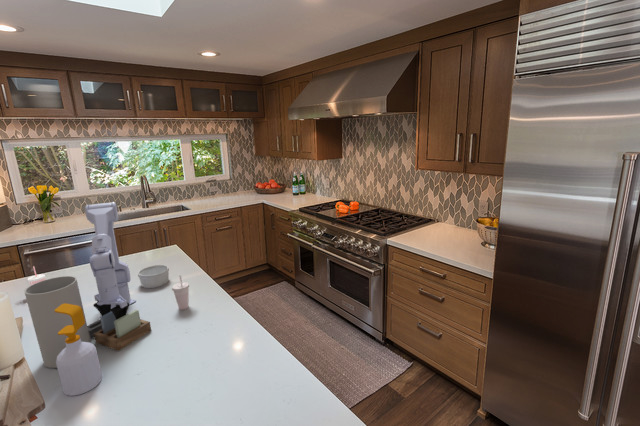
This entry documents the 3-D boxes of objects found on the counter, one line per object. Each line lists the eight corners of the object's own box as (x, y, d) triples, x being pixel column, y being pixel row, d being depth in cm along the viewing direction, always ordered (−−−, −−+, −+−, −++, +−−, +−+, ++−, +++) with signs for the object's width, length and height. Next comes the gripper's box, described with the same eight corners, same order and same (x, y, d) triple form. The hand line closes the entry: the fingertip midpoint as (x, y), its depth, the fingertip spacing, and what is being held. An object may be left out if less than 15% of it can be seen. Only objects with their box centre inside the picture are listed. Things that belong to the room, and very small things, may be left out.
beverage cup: (53, 292, 153) (46, 263, 149) (41, 298, 147) (33, 269, 144) (41, 292, 153) (33, 263, 150) (28, 298, 148) (20, 269, 144)
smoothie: (186, 311, 131) (181, 279, 128) (171, 310, 132) (166, 278, 129) (195, 303, 137) (190, 272, 134) (181, 302, 138) (176, 271, 135)
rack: (95, 342, 113) (93, 333, 112) (129, 323, 124) (127, 315, 123) (118, 351, 108) (116, 341, 107) (151, 330, 119) (149, 321, 118)
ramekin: (176, 280, 160) (174, 267, 158) (150, 292, 149) (147, 277, 148) (160, 275, 167) (158, 262, 165) (134, 286, 156) (131, 272, 155)
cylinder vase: (52, 349, 110) (34, 280, 104) (96, 340, 115) (81, 273, 109) (37, 374, 99) (16, 298, 93) (86, 362, 103) (69, 289, 97)
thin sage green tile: (118, 345, 111) (113, 321, 109) (139, 332, 118) (135, 309, 116) (121, 346, 111) (116, 322, 109) (142, 333, 118) (138, 310, 116)
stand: (83, 335, 117) (82, 328, 117) (117, 318, 128) (115, 311, 128) (91, 338, 116) (89, 331, 115) (124, 320, 127) (123, 313, 126)
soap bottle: (76, 374, 98) (58, 299, 92) (108, 371, 99) (92, 296, 93) (55, 398, 89) (34, 316, 84) (91, 394, 90) (71, 313, 84)
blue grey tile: (104, 340, 114) (99, 317, 112) (126, 328, 121) (122, 305, 119) (107, 341, 114) (102, 317, 112) (129, 328, 121) (124, 306, 119)
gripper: (82, 287, 113) (90, 323, 116) (109, 295, 107) (117, 332, 110) (103, 279, 119) (110, 313, 122) (129, 285, 113) (136, 321, 116)
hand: (114, 321), depth 116 cm, fingers open, 7 cm apart
